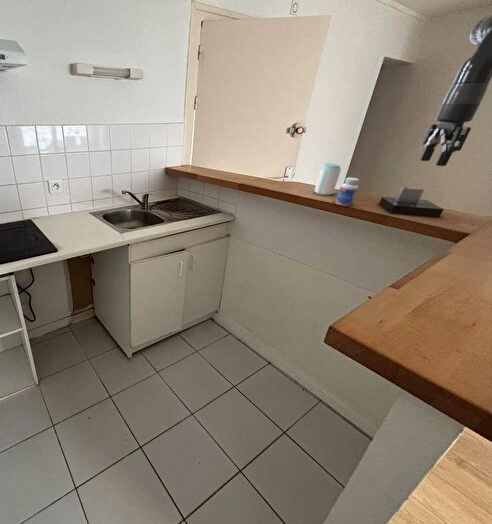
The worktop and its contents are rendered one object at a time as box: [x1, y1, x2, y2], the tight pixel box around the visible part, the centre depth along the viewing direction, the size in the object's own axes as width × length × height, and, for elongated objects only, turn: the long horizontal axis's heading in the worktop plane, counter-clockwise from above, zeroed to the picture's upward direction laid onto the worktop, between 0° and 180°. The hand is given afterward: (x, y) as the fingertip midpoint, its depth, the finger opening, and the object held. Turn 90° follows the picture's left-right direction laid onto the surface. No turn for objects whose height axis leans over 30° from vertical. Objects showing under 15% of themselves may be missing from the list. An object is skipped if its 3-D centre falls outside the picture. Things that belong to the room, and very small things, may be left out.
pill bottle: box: [334, 177, 360, 207], centre depth 107 cm, size 6×5×10 cm
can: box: [314, 163, 342, 196], centre depth 119 cm, size 7×7×12 cm
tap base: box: [378, 196, 445, 219], centre depth 102 cm, size 14×11×3 cm
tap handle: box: [395, 186, 425, 203], centre depth 100 cm, size 6×2×5 cm, turn 73°
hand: (432, 163), depth 86 cm, fingers open, 8 cm apart
